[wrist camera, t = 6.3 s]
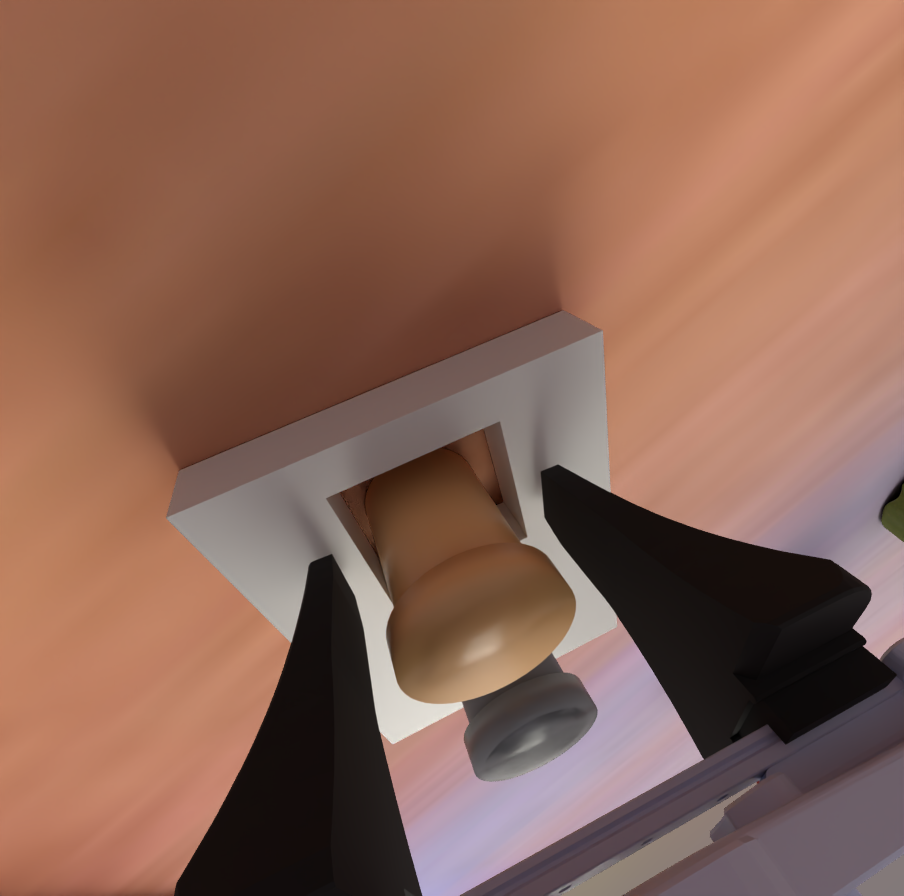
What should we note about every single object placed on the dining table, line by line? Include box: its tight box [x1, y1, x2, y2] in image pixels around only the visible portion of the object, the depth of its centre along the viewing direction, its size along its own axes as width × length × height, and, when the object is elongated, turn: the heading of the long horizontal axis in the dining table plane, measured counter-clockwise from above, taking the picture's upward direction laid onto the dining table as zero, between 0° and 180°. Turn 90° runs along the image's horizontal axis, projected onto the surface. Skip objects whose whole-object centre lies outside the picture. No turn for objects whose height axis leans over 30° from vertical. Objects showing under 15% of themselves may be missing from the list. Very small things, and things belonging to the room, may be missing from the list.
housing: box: [166, 310, 617, 744], centre depth 17 cm, size 16×12×2 cm
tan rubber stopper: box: [365, 448, 576, 704], centre depth 13 cm, size 5×5×6 cm
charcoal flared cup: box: [462, 653, 597, 782], centre depth 18 cm, size 5×5×6 cm
